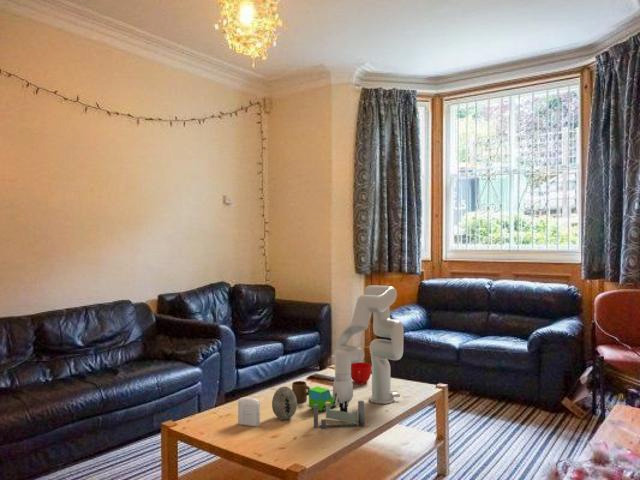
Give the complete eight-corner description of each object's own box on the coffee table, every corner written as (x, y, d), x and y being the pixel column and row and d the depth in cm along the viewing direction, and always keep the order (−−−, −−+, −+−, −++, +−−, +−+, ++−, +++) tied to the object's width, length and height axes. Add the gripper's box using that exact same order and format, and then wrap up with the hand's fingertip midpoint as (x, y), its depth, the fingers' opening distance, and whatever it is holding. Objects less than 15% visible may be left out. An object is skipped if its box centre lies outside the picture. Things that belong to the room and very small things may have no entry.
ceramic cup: (347, 387, 280) (347, 369, 280) (350, 378, 297) (350, 362, 297) (370, 388, 278) (370, 370, 278) (372, 379, 295) (372, 362, 295)
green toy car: (340, 406, 249) (340, 386, 249) (322, 413, 240) (322, 393, 240) (325, 402, 256) (325, 382, 256) (307, 408, 247) (307, 388, 247)
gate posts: (364, 424, 225) (363, 400, 225) (365, 428, 221) (365, 403, 221) (313, 425, 224) (313, 401, 224) (313, 429, 220) (313, 404, 220)
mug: (315, 403, 255) (315, 384, 255) (304, 406, 250) (304, 388, 250) (300, 397, 264) (299, 380, 264) (289, 401, 259) (289, 383, 258)
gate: (357, 422, 226) (357, 407, 226) (355, 423, 224) (355, 408, 224) (327, 416, 233) (327, 401, 233) (325, 417, 232) (325, 402, 232)
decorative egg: (276, 425, 226) (275, 392, 226) (269, 416, 237) (268, 385, 237) (300, 421, 230) (300, 388, 230) (292, 412, 241) (292, 382, 241)
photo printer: (261, 423, 228) (260, 396, 228) (257, 427, 224) (257, 399, 224) (241, 421, 231) (240, 395, 231) (236, 425, 227) (236, 398, 227)
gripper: (346, 371, 239) (347, 409, 239) (326, 378, 228) (327, 418, 228) (359, 374, 234) (360, 412, 234) (338, 381, 223) (339, 422, 223)
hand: (343, 415), depth 231 cm, fingers closed
